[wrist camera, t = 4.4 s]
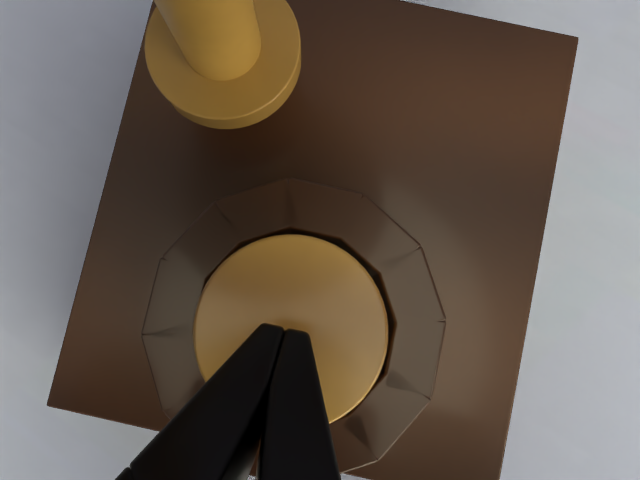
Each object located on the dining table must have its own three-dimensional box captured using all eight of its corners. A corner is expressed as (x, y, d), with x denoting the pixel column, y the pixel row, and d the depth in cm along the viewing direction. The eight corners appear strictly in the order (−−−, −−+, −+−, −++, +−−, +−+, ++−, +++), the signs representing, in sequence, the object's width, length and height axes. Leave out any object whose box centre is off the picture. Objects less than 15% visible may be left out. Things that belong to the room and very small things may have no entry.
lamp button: (359, 430, 13) (366, 453, 11) (193, 392, 13) (171, 408, 11) (393, 263, 14) (406, 256, 12) (232, 227, 14) (217, 215, 12)
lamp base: (450, 455, 20) (522, 541, 13) (113, 379, 20) (3, 422, 13) (518, 99, 21) (616, -1, 14) (201, 32, 21) (143, -98, 14)
